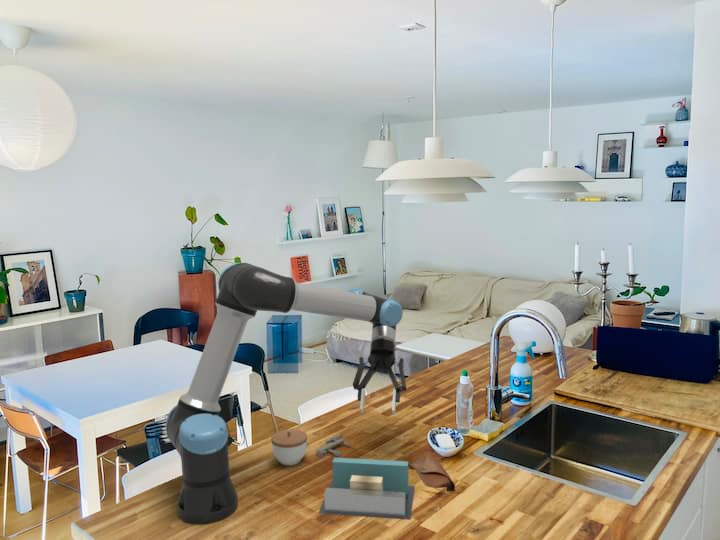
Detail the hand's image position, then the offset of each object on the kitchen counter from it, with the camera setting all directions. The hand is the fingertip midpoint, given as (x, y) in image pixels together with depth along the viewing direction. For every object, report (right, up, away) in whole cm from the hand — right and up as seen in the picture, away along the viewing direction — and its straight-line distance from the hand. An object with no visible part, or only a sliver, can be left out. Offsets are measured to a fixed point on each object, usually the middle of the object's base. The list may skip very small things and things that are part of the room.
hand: (377, 411), depth 168 cm
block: (-3, -19, -21) cm, 28 cm away
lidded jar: (-26, -17, +7) cm, 32 cm away
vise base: (-3, -20, -18) cm, 27 cm away
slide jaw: (-2, -18, -14) cm, 22 cm away
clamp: (-13, -16, +15) cm, 25 cm away
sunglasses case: (+15, -18, -5) cm, 24 cm away
